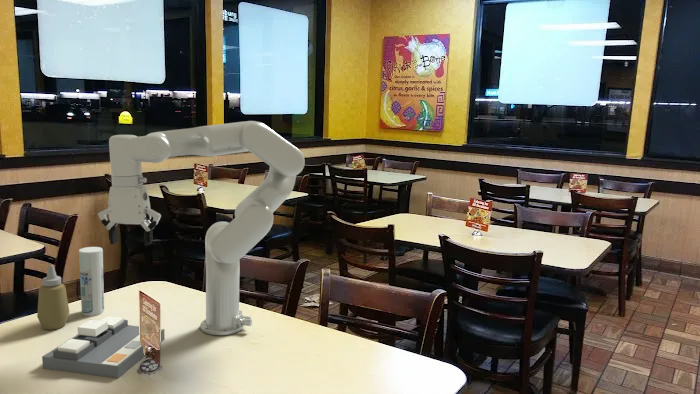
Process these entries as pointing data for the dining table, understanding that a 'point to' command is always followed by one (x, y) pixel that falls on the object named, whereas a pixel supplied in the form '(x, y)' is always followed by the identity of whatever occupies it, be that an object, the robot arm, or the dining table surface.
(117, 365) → the switch box
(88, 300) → the spray can
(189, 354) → the dining table surface
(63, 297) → the squeeze bottle
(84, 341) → the switch
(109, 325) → the switch
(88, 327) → the switch
